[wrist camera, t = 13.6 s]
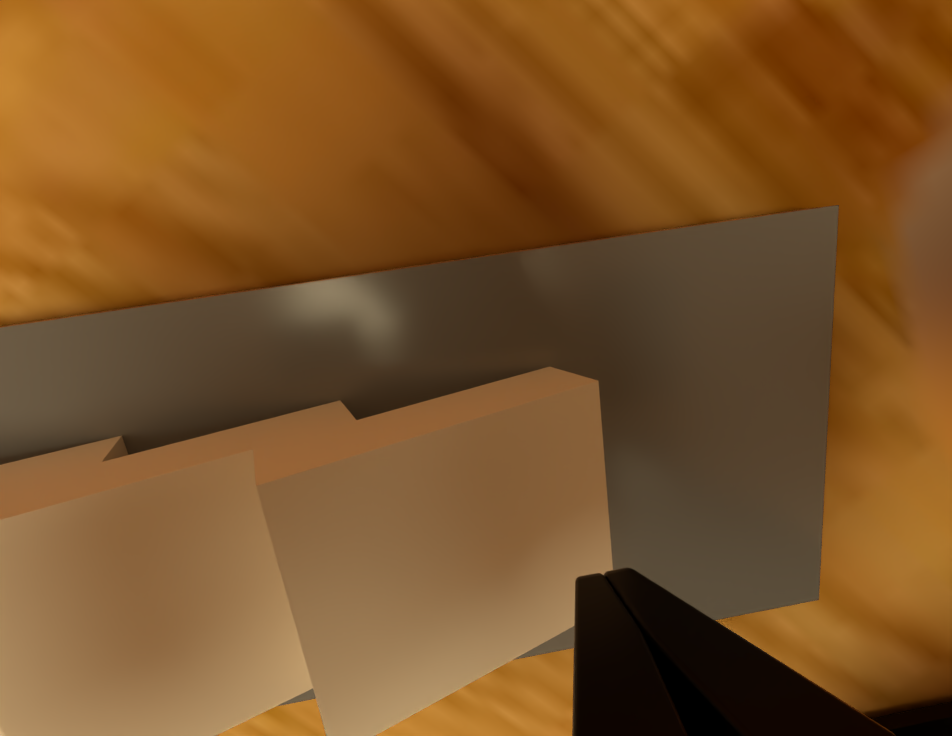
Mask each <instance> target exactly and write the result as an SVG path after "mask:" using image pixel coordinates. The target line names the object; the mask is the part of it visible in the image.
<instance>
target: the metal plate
mask: <svg viewBox="0 0 952 736" xmlns="http://www.w3.org/2000/svg"><path fill="white" fill-rule="evenodd" d="M838 209H839V205H835V206H826V207H816V208H807V209H799V210H792V211H785V212H779V213H772V214H765V215H758V216H751V217H744V218H737V219H731V220H724V221H717V222H710V223H703V224H696V225H689V226H683V227H676V228H669V229H662V230H655V231H648V232H642V233H635V234H628V235H621V236H614V237H607V238H600V239H594V240H587V241H580V242H573V243H566V244H559V245H552V246H546V247H539V248H532V249H525V250H518V251H511V252H504V253H498V254H491V255H484V256H477V257H470V258H463V259H457V260H450V261H443V262H436V263H429V264H422V265H415V266H409V267H402V268H395V269H388V270H381V271H374V272H367V273H361V274H354V275H347V276H340V277H333V278H326V279H319V280H313V281H306V282H299V283H292V284H285V285H278V286H272V287H265V288H258V289H251V290H244V291H237V292H230V293H224V294H217V295H210V296H203V297H196V298H189V299H182V300H176V301H169V302H162V303H155V304H148V305H141V306H134V307H128V308H121V309H114V310H107V311H100V312H93V313H87V314H80V315H73V316H66V317H59V318H52V319H45V320H39V321H32V322H25V323H18V324H11V325H4V326H0V465H2V464H6V463H10V462H14V461H18V460H22V459H27V458H31V457H35V456H39V455H43V454H47V453H51V452H56V451H60V450H64V449H68V448H72V447H76V446H80V445H85V444H89V443H93V442H97V441H101V440H105V439H110V438H114V437H118V436H122V438H123V441H124V444H125V447H126V449H127V452H128V455H131V454H135V453H138V452H142V451H146V450H150V449H154V448H158V447H162V446H165V445H169V444H173V443H177V442H181V441H185V440H189V439H192V438H196V437H200V436H204V435H208V434H212V433H216V432H219V431H223V430H227V429H231V428H235V427H239V426H243V425H247V424H250V423H254V422H258V421H262V420H266V419H270V418H274V417H277V416H281V415H285V414H289V413H293V412H297V411H301V410H304V409H308V408H312V407H316V406H320V405H324V404H328V403H331V402H335V401H339V400H340V401H341V402H342V403H343V404H344V406H345V407H346V408H347V409H348V410H349V412H350V413H351V414H352V415H353V416H354V418H355V419H356V420H359V419H363V418H366V417H370V416H373V415H377V414H381V413H384V412H388V411H391V410H395V409H399V408H402V407H406V406H409V405H413V404H417V403H420V402H424V401H427V400H431V399H435V398H438V397H442V396H445V395H449V394H453V393H456V392H460V391H463V390H467V389H471V388H474V387H478V386H481V385H485V384H489V383H492V382H496V381H499V380H503V379H506V378H510V377H514V376H517V375H521V374H524V373H528V372H532V371H535V370H539V369H542V368H546V367H553V368H556V369H560V370H563V371H567V372H570V373H574V374H577V375H580V376H584V377H587V378H591V379H594V380H598V382H599V395H600V408H601V421H602V434H603V447H604V460H605V473H606V486H607V499H608V512H609V525H610V538H611V551H612V564H613V570H616V569H621V568H632V569H634V570H636V571H637V572H639V573H640V574H642V575H644V576H645V577H647V578H648V579H650V580H652V581H653V582H655V583H656V584H658V585H660V586H661V587H663V588H664V589H666V590H667V591H669V592H671V593H672V594H674V595H675V596H677V597H679V598H680V599H682V600H683V601H685V602H686V603H688V604H690V605H691V606H693V607H694V608H696V609H698V610H699V611H701V612H702V613H704V614H705V615H707V616H709V617H710V618H712V619H713V620H718V619H723V618H728V617H733V616H739V615H744V614H749V613H754V612H759V611H764V610H769V609H774V608H779V607H784V606H790V605H795V604H800V603H805V602H810V601H815V600H819V586H820V566H821V546H822V526H823V506H824V487H825V467H826V447H827V427H828V407H829V387H830V367H831V348H832V328H833V308H834V288H835V268H836V248H837V229H838ZM570 648H574V626H573V627H571V628H569V629H568V630H566V631H564V632H562V633H560V634H559V635H557V636H555V637H553V638H551V639H550V640H548V641H546V642H544V643H542V644H540V645H539V646H537V647H535V648H533V649H531V650H530V651H528V652H526V653H524V654H522V655H520V656H519V657H517V658H515V659H519V658H525V657H530V656H535V655H540V654H545V653H550V652H555V651H560V650H565V649H570ZM513 660H514V659H513ZM310 699H316V697H315V693H314V690H313V688H312V689H310V690H308V691H306V692H304V693H302V694H300V695H298V696H296V697H294V698H292V699H290V700H288V701H286V702H284V703H282V704H280V705H285V704H290V703H295V702H300V701H305V700H310ZM280 705H278V706H280Z"/></svg>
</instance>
